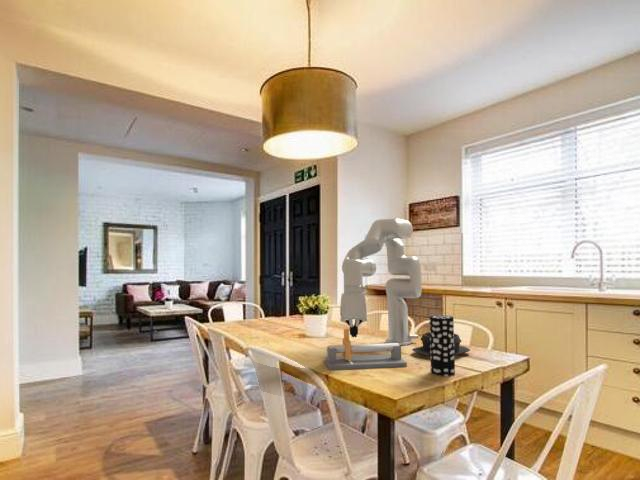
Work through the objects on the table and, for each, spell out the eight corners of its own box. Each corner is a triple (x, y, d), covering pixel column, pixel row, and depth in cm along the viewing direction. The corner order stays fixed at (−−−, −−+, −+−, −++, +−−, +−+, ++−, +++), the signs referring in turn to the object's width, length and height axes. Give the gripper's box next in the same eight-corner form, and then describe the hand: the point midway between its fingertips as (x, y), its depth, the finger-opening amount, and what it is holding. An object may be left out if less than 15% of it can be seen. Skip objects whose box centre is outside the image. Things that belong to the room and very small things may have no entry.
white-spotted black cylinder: (428, 369, 146) (427, 315, 147) (451, 369, 146) (449, 315, 147) (434, 376, 138) (432, 318, 139) (458, 376, 137) (456, 318, 138)
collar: (347, 355, 159) (347, 327, 159) (350, 359, 152) (350, 331, 152) (342, 355, 158) (342, 328, 159) (345, 360, 152) (345, 331, 152)
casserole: (453, 347, 182) (452, 329, 182) (480, 357, 164) (479, 336, 165) (404, 351, 175) (404, 332, 175) (427, 362, 157) (426, 340, 158)
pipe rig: (395, 357, 164) (395, 339, 165) (406, 366, 150) (406, 346, 151) (324, 360, 161) (324, 341, 161) (329, 369, 147) (328, 349, 148)
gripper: (369, 289, 161) (370, 334, 160) (333, 289, 160) (333, 335, 159) (373, 290, 154) (374, 337, 153) (336, 291, 152) (336, 339, 151)
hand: (353, 336), depth 156 cm, fingers closed
